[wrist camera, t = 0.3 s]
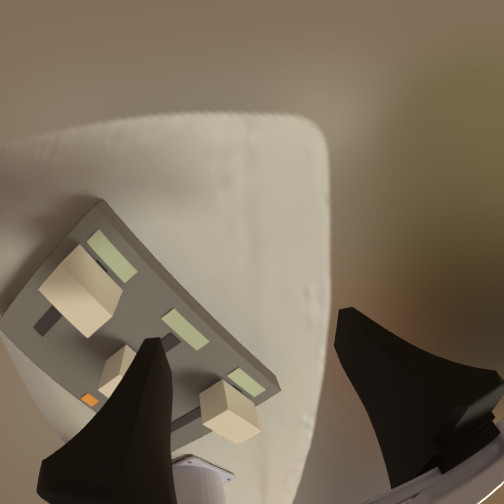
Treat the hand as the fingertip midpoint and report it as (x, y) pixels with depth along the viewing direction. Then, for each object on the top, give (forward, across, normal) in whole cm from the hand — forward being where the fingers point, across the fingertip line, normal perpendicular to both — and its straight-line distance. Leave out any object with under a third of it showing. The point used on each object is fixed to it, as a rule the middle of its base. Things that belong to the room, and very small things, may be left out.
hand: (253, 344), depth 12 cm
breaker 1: (+7, +9, 0) cm, 12 cm away
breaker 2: (+6, +2, +12) cm, 14 cm away
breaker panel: (+9, +8, +8) cm, 15 cm away
